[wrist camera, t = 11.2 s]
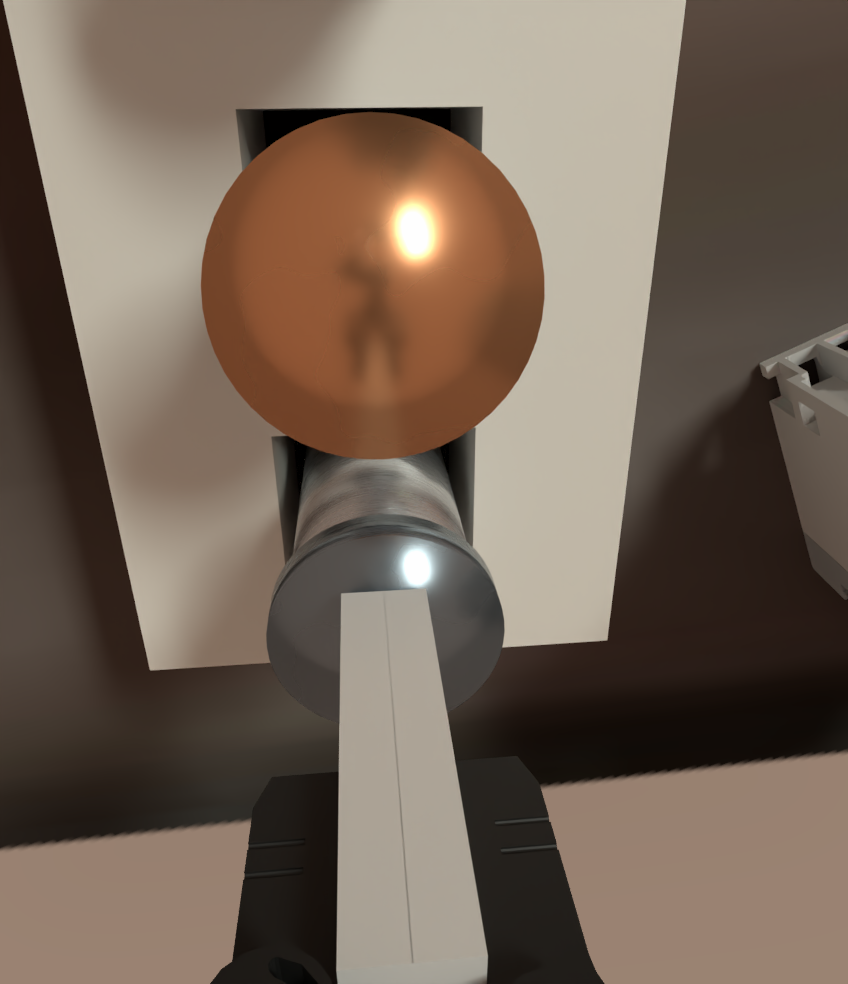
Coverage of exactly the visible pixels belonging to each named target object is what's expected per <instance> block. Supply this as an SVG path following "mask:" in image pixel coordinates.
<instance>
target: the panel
mask: <svg viewBox="0 0 848 984" xmlns="http://www.w3.org/2000/svg"><path fill="white" fill-rule="evenodd" d="M3 3H4V8H5V12H6V17H7V21H8V26H9V31H10V35H11V40H12V44H13V49H14V53H15V58H16V62H17V67H18V72H19V76H20V81H21V85H22V90H23V94H24V99H25V103H26V108H27V113H28V117H29V122H30V126H31V131H32V135H33V140H34V144H35V149H36V154H37V158H38V163H39V167H40V172H41V176H42V181H43V185H44V190H45V195H46V199H47V204H48V208H49V213H50V217H51V222H52V226H53V231H54V236H55V240H56V245H57V249H58V254H59V258H60V263H61V267H62V272H63V277H64V281H65V286H66V290H67V295H68V299H69V304H70V308H71V313H72V318H73V322H74V327H75V331H76V336H77V340H78V345H79V349H80V354H81V359H82V363H83V368H84V372H85V377H86V381H87V386H88V390H89V395H90V400H91V404H92V409H93V413H94V418H95V422H96V427H97V431H98V436H99V441H100V445H101V450H102V454H103V459H104V463H105V468H106V472H107V477H108V482H109V486H110V491H111V495H112V500H113V504H114V509H115V513H116V518H117V523H118V527H119V532H120V536H121V541H122V545H123V550H124V554H125V559H126V564H127V568H128V573H129V577H130V582H131V586H132V591H133V595H134V600H135V605H136V609H137V614H138V618H139V623H140V627H141V632H142V636H143V641H144V646H145V650H146V655H147V659H148V664H149V668H150V671H151V670H166V669H181V668H196V667H212V666H227V665H242V664H257V663H271V662H270V660H269V655H268V651H267V641H266V632H267V623H268V617H269V610H270V604H271V598H272V593H273V590H274V586H275V583H276V581H277V579H278V577H279V575H280V572H281V571H282V569H283V568H284V566H285V565H286V563H287V561H288V560H289V559H290V558H291V557H292V555H293V551H294V543H295V535H296V527H297V519H298V511H299V503H300V499H299V489H298V478H297V468H296V457H295V446H294V439H293V438H291V437H289V436H287V435H285V434H283V433H282V432H281V431H279V430H278V429H276V428H275V427H274V426H272V425H271V424H269V423H268V422H267V421H265V420H264V419H263V418H262V417H261V416H260V415H259V414H258V413H257V412H256V411H254V410H253V409H252V408H251V407H250V406H249V405H248V403H247V402H246V401H245V400H244V399H243V398H242V396H241V395H240V394H239V393H238V392H237V391H236V389H235V388H234V386H233V385H232V383H231V382H230V380H229V379H228V377H227V376H226V374H225V373H224V371H223V369H222V367H221V365H220V363H219V360H218V358H217V356H216V354H215V352H214V350H213V347H212V344H211V341H210V338H209V335H208V332H207V328H206V324H205V319H204V314H203V309H202V297H201V271H202V260H203V255H204V250H205V244H206V239H207V236H208V233H209V230H210V227H211V225H212V222H213V219H214V216H215V214H216V212H217V210H218V208H219V206H220V204H221V202H222V200H223V198H224V196H225V194H226V193H227V191H228V190H229V189H230V187H231V186H232V184H233V183H234V181H235V180H236V179H237V177H238V176H239V174H240V173H241V172H242V171H243V170H244V169H245V168H246V167H247V166H248V165H249V164H250V163H251V162H252V161H253V160H254V158H255V157H256V156H258V155H259V154H260V153H261V152H263V151H264V150H265V149H266V139H265V128H264V118H263V111H300V110H396V109H451V129H450V132H451V133H453V134H455V135H457V136H459V137H461V138H463V139H464V140H465V141H467V142H468V143H470V144H471V145H472V146H474V147H475V148H476V149H478V150H479V151H480V152H482V153H483V154H484V155H485V156H486V157H487V158H488V159H489V160H490V161H491V162H492V163H493V164H494V165H495V166H496V167H497V168H498V169H499V170H500V171H501V172H502V173H503V175H504V176H505V177H506V178H507V180H508V181H509V182H510V184H511V185H512V186H513V187H514V189H515V190H516V192H517V194H518V196H519V197H520V199H521V201H522V202H523V204H524V206H525V208H526V209H527V212H528V214H529V216H530V219H531V221H532V224H533V226H534V229H535V231H536V235H537V238H538V242H539V246H540V250H541V253H542V261H543V269H544V287H545V299H544V307H543V315H542V321H541V325H540V329H539V333H538V337H537V341H536V344H535V346H534V349H533V351H532V354H531V356H530V359H529V361H528V363H527V365H526V367H525V369H524V371H523V372H522V374H521V376H520V378H519V380H518V381H517V383H516V384H515V385H514V387H513V388H512V390H511V391H510V392H509V394H508V395H507V397H506V398H505V399H504V400H503V401H502V402H501V403H500V404H499V405H498V406H497V408H496V409H495V410H494V411H493V412H492V413H491V414H490V415H488V416H487V417H486V418H485V419H484V420H483V421H481V422H480V423H479V424H478V425H477V426H475V427H474V428H472V429H471V430H469V431H468V432H466V433H465V434H463V435H462V436H460V437H458V438H456V439H454V440H452V441H450V442H449V481H450V484H451V488H452V491H453V495H454V499H455V502H456V506H457V509H458V513H459V516H460V520H461V524H462V527H463V531H464V534H465V538H466V541H467V542H468V543H469V544H470V545H471V546H472V547H473V548H474V549H475V550H476V551H477V552H478V554H479V555H480V556H481V557H482V559H483V560H484V562H485V563H486V565H487V567H488V569H489V571H490V573H491V576H492V578H493V581H494V584H495V587H496V590H497V593H498V597H499V600H500V603H501V606H502V611H503V616H504V628H505V633H504V641H503V646H502V647H516V646H531V645H546V644H561V643H576V642H592V641H607V638H608V630H609V622H610V614H611V606H612V598H613V589H614V581H615V573H616V565H617V557H618V549H619V541H620V533H621V524H622V516H623V508H624V500H625V492H626V484H627V476H628V468H629V459H630V451H631V443H632V435H633V427H634V419H635V411H636V403H637V394H638V386H639V378H640V370H641V362H642V354H643V346H644V338H645V329H646V321H647V313H648V305H649V297H650V289H651V281H652V273H653V264H654V256H655V248H656V240H657V232H658V224H659V216H660V208H661V199H662V191H663V183H664V175H665V167H666V159H667V151H668V143H669V134H670V126H671V118H672V110H673V102H674V94H675V86H676V78H677V69H678V61H679V53H680V45H681V37H682V29H683V21H684V13H685V4H686V0H3Z"/></svg>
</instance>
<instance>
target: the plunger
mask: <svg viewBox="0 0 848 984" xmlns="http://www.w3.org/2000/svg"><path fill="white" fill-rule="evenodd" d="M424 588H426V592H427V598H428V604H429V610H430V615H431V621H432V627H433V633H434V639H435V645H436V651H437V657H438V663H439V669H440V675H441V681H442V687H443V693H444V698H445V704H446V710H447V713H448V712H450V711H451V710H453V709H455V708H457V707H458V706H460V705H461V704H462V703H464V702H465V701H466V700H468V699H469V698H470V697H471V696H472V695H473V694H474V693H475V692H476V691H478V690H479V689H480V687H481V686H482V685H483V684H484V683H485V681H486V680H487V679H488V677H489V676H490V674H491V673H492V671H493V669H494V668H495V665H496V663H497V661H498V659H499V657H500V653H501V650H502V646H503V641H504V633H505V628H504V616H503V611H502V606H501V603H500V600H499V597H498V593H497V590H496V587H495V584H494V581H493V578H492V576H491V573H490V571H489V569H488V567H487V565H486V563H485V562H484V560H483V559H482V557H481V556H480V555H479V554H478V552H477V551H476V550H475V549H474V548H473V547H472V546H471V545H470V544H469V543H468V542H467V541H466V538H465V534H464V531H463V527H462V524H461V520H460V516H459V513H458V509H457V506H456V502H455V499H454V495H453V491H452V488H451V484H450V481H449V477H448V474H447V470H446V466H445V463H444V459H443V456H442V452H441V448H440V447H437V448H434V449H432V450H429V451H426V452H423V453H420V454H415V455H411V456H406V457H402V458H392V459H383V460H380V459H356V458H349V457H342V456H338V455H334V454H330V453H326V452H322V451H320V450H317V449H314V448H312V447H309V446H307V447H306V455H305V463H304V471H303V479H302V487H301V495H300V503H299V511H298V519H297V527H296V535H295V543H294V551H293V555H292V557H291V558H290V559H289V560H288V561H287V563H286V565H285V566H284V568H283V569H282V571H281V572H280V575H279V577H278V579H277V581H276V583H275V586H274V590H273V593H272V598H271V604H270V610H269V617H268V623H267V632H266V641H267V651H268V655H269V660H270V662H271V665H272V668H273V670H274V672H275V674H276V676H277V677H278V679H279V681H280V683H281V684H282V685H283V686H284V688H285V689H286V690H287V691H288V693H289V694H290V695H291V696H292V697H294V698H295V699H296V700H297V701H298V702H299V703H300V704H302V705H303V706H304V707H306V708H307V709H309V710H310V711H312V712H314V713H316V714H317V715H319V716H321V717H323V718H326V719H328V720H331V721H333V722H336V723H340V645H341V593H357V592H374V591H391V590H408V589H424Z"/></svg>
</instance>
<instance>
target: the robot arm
mask: <svg viewBox="0 0 848 984" xmlns="http://www.w3.org/2000/svg"><path fill="white" fill-rule="evenodd" d="M248 844H249V848H248V850H247V857H246V865H245V872H244V873H245V878H244V880H243V886H242V894H241V901H240V908H239V916H238V923H237V930H236V938H235V945H234V952H233V960H232V962H231V963H230V964H228V965H227V966H225V967H224V968H222V969H221V970H220V972H219V973H218V974H217V976H216V977H215V978H214V979H213V981H212V982H211V983H210V984H604V982H603V981H602V980H601V978H600V977H599V975H598V974H597V972H596V970H595V968H594V966H593V963H592V961H591V958H590V956H589V953H588V950H587V947H586V943H585V939H584V936H583V932H582V929H581V926H580V923H579V919H578V915H577V912H576V908H575V905H574V902H573V898H572V895H571V892H570V888H569V884H568V881H567V877H566V874H565V870H564V867H563V864H562V860H561V857H560V853H559V850H557V845H556V839H555V836H554V833H553V829H552V826H551V822H549V816H548V812H547V808H546V805H545V802H544V798H543V795H542V791H541V788H540V784H539V782H538V781H537V780H536V778H535V777H534V776H533V775H532V774H531V772H530V771H529V770H528V769H527V768H526V766H525V765H524V764H523V763H522V761H521V760H520V759H519V758H518V757H517V756H509V757H496V758H483V759H471V760H458V761H455V758H454V752H453V746H452V740H451V734H450V728H449V722H448V716H447V710H446V704H445V698H444V693H443V687H442V681H441V675H440V669H439V663H438V657H437V651H436V645H435V639H434V633H433V627H432V621H431V615H430V610H429V604H428V598H427V592H426V588H424V589H408V590H391V591H374V592H357V593H341V645H340V725H339V772H331V773H318V774H305V775H293V776H280V777H272V778H271V780H270V781H269V783H268V785H267V786H266V788H265V790H264V791H263V793H262V794H261V796H260V798H259V799H258V801H257V803H256V804H255V806H254V808H253V813H252V820H251V828H250V835H249V842H248Z"/></svg>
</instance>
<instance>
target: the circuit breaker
mask: <svg viewBox="0 0 848 984" xmlns="http://www.w3.org/2000/svg"><path fill="white" fill-rule="evenodd" d="M847 340H848V323H847V324H845V325H843V326H840V327H838V328H836V329H834V330H832V331H829V332H827V333H825V334H823V335H821V336H818V337H816V338H814V339H812V340H810V341H807V342H805V343H803V344H801V345H799V346H796V347H794V348H792V349H790V350H788V351H785V352H783V353H781V354H779V355H777V356H774V357H772V358H770V359H768V360H766V361H764V362H761V363H759V364H760V368H761V372H762V376H764V377H765V378H767V379H770V378H772V377H774V376H776V378H777V381H778V385H779V389H780V393H781V396H780V397H777V398H775V399H773V400H771V401H769V403H770V407H771V410H772V414H773V418H774V422H775V426H776V430H777V433H778V437H779V441H780V445H781V449H782V453H783V457H784V460H785V464H786V468H787V472H788V476H789V480H790V484H791V487H792V491H793V495H794V499H795V503H796V507H797V511H798V514H799V518H800V522H801V526H802V530H803V534H804V537H805V541H806V545H807V549H808V553H809V556H810V560H811V564H812V567H813V569H814V570H815V571H816V572H817V573H818V574H819V575H820V576H821V577H822V578H823V579H824V580H825V581H826V582H827V583H828V584H829V585H830V586H831V587H832V588H833V589H834V590H835V591H836V592H837V593H838V594H840V595H841V596H842V597H843V598H844V599H845V600H846V599H848V350H846V351H845V350H843V349H841V348H839V347H837V346H836V345H839V344H841V343H843V342H845V341H847ZM811 359H814V361H815V364H816V368H817V373H818V377H819V383H817V384H815V385H813V386H811V385H810V380H809V376H808V372H807V371H805V370H804V369H802V368H800V367H799V366H797V365H800V364H802V363H804V362H806V361H809V360H811Z"/></svg>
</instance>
